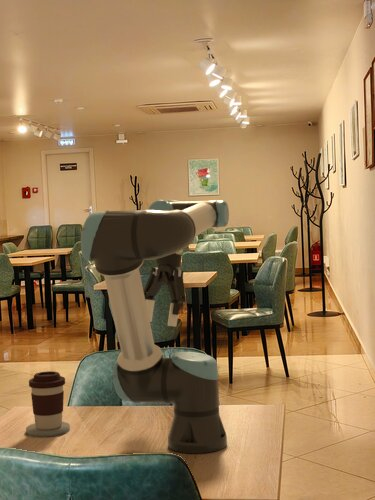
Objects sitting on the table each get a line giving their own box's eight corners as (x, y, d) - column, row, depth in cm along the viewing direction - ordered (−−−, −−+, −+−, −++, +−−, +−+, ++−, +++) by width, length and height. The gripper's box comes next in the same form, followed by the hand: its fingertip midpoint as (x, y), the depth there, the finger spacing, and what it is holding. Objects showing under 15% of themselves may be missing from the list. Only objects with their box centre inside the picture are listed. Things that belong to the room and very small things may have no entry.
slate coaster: (75, 433, 202) (75, 428, 201) (32, 440, 196) (32, 435, 196) (62, 422, 212) (62, 418, 212) (21, 429, 207) (21, 424, 207)
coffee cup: (70, 421, 209) (68, 369, 208) (61, 432, 199) (59, 377, 198) (36, 422, 209) (34, 370, 209) (26, 432, 200) (23, 377, 199)
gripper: (204, 255, 209) (193, 329, 208) (157, 253, 230) (147, 320, 228) (182, 251, 205) (171, 326, 203) (137, 249, 226) (127, 318, 224)
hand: (159, 323), depth 216 cm, fingers open, 13 cm apart
